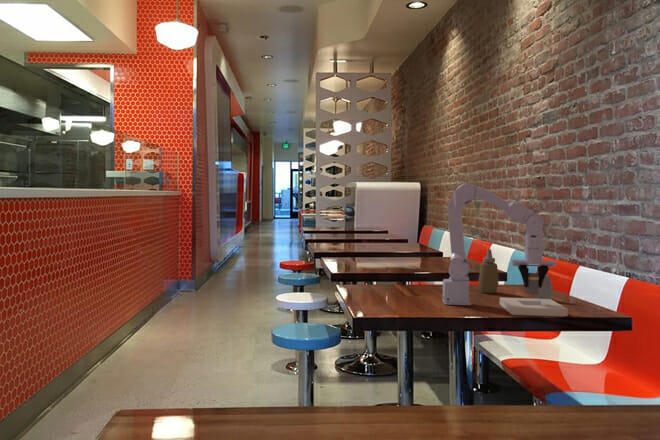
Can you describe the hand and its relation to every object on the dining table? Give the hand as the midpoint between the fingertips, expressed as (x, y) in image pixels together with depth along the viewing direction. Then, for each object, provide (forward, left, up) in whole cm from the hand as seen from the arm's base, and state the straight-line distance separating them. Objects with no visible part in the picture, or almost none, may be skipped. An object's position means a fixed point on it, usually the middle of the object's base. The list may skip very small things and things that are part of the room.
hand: (532, 287), depth 187 cm
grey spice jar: (0, 0, -2) cm, 2 cm away
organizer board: (0, 0, -8) cm, 8 cm away
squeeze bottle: (-8, +34, -8) cm, 36 cm away
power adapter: (+10, +20, -8) cm, 24 cm away
